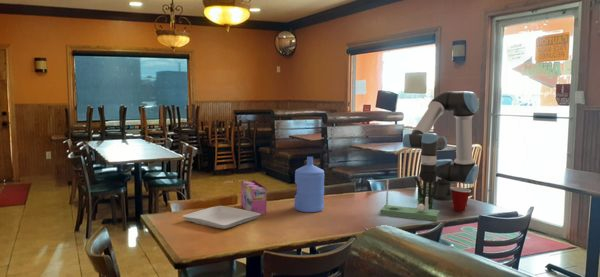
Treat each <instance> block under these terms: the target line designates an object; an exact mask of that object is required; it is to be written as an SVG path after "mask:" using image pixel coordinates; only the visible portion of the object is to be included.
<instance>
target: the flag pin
mask: <svg viewBox="0 0 600 277" xmlns="http://www.w3.org/2000/svg"><path fill="white" fill-rule="evenodd" d="M385 186H386V196H385V198H386V200H385V201H386V202H385V205H386V206H388V205H389V204H388V203H389V179H386V181H385Z"/></svg>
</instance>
